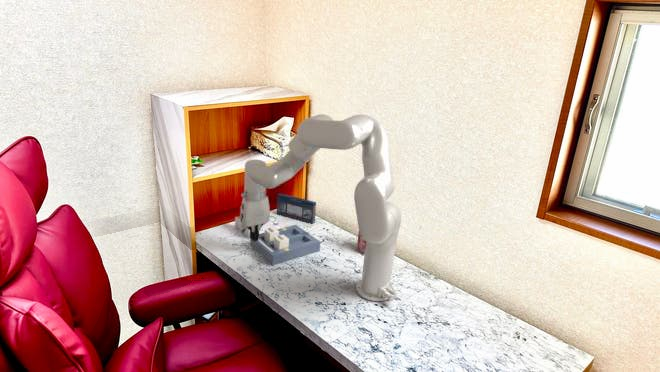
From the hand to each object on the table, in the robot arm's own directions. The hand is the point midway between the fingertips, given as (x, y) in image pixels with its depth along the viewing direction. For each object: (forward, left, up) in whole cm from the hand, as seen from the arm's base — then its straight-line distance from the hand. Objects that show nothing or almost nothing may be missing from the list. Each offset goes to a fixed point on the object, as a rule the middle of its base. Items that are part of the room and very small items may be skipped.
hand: (254, 239), depth 161 cm
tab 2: (-7, -7, -3) cm, 11 cm away
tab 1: (0, -8, -3) cm, 8 cm away
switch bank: (-4, -12, -5) cm, 13 cm away
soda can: (-21, -38, -5) cm, 44 cm away
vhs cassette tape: (+17, -30, -6) cm, 35 cm away
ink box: (+16, -4, -6) cm, 17 cm away
